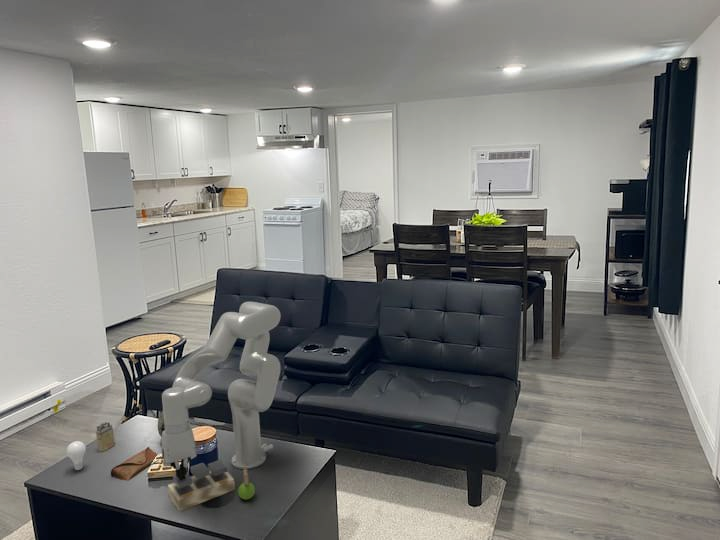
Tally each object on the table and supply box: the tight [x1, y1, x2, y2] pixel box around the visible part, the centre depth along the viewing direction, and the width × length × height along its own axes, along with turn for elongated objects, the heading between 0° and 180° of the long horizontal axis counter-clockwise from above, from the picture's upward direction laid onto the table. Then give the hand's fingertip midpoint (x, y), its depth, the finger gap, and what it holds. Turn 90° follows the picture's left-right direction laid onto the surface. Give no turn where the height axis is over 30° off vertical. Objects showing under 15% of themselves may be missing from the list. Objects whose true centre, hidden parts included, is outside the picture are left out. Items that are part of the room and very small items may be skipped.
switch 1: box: [172, 471, 193, 489], centre depth 184 cm, size 4×6×3 cm
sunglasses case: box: [110, 446, 159, 482], centre depth 206 cm, size 18×7×7 cm, turn 155°
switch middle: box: [190, 462, 210, 479], centre depth 187 cm, size 4×6×3 cm
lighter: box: [95, 421, 116, 452], centre depth 220 cm, size 7×4×10 cm, turn 156°
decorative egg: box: [157, 410, 165, 438], centre depth 223 cm, size 12×12×15 cm
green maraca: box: [237, 468, 256, 500], centre depth 183 cm, size 5×6×12 cm
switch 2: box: [207, 459, 228, 476], centre depth 191 cm, size 4×6×3 cm
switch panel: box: [167, 471, 236, 512], centre depth 188 cm, size 19×11×4 cm, turn 126°
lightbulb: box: [66, 440, 87, 471], centre depth 204 cm, size 6×6×11 cm
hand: (181, 477), depth 183 cm, fingers closed
